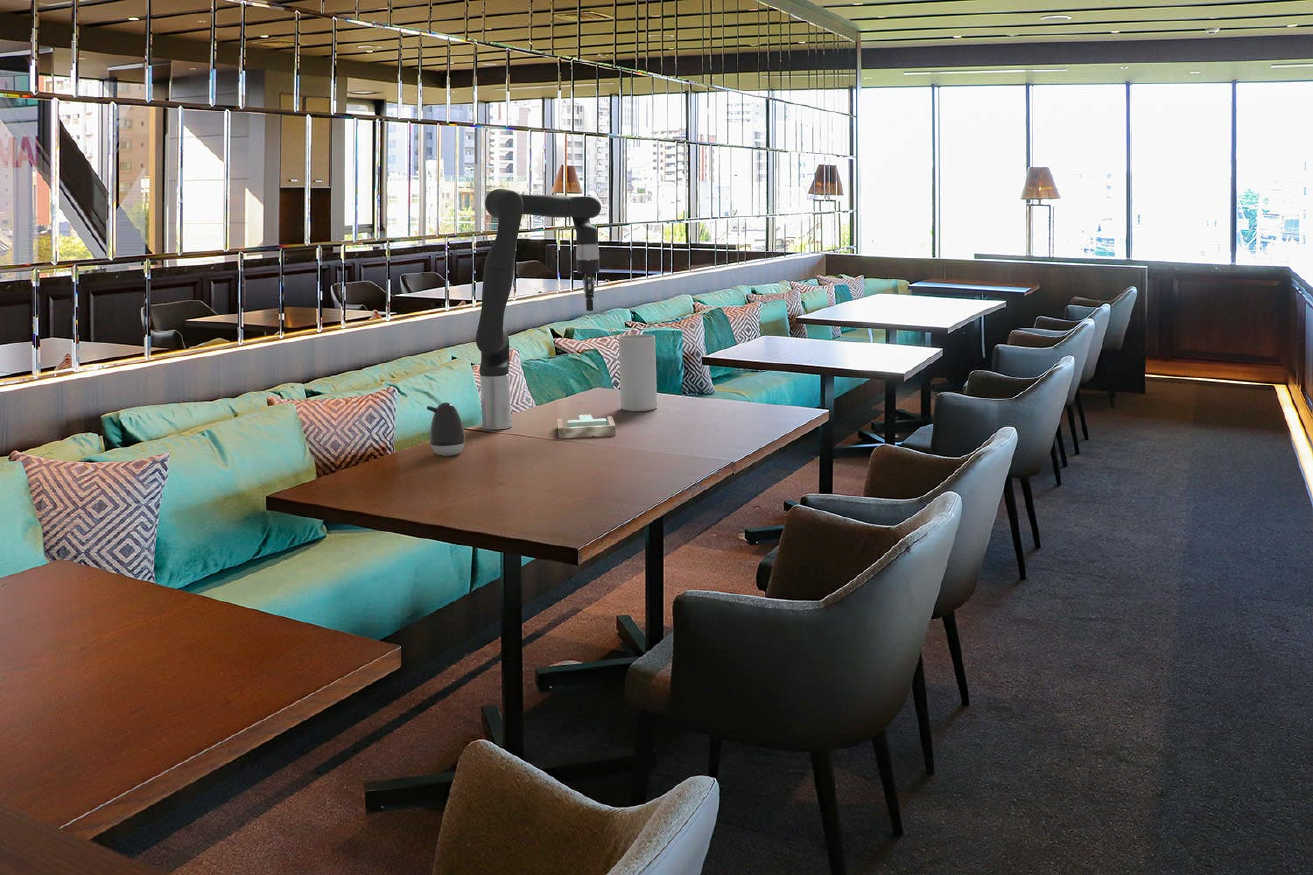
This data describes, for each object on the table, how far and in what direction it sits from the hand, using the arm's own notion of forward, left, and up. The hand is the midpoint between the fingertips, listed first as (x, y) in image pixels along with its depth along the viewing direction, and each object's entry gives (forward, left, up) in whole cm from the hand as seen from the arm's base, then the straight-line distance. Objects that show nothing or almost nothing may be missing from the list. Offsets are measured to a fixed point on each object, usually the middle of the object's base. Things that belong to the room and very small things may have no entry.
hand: (589, 310), depth 370 cm
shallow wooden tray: (-4, -30, -35) cm, 46 cm away
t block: (-4, -28, -35) cm, 45 cm away
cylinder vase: (+16, +6, -35) cm, 39 cm away
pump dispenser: (-45, -53, -35) cm, 78 cm away
